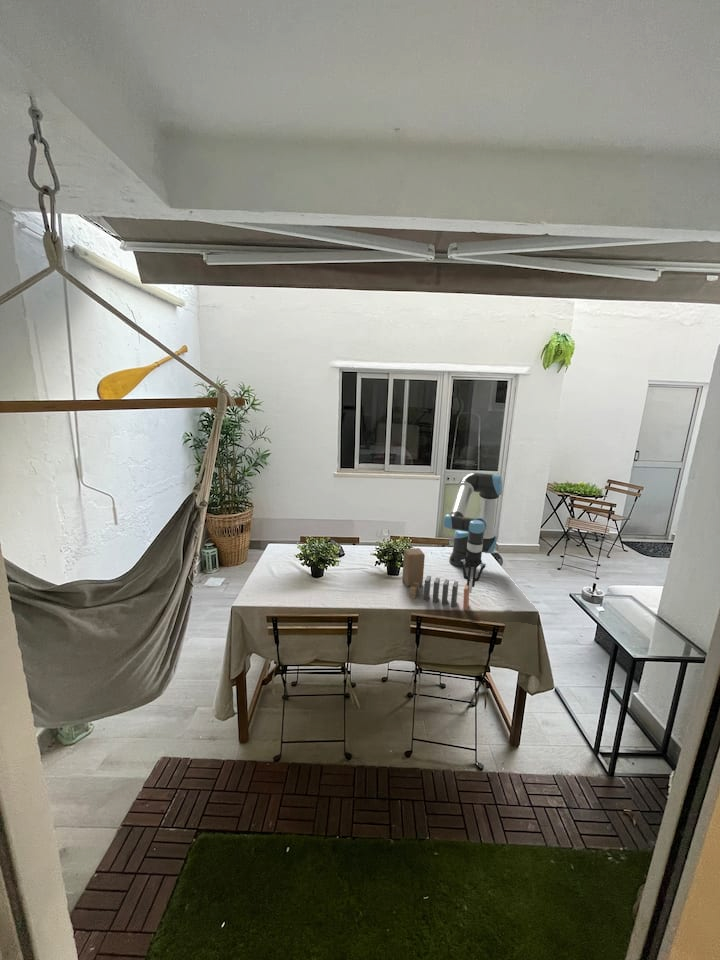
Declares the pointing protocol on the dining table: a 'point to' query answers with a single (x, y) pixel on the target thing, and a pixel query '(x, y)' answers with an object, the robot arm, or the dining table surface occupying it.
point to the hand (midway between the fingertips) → (470, 591)
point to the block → (413, 566)
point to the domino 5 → (466, 597)
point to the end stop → (414, 590)
